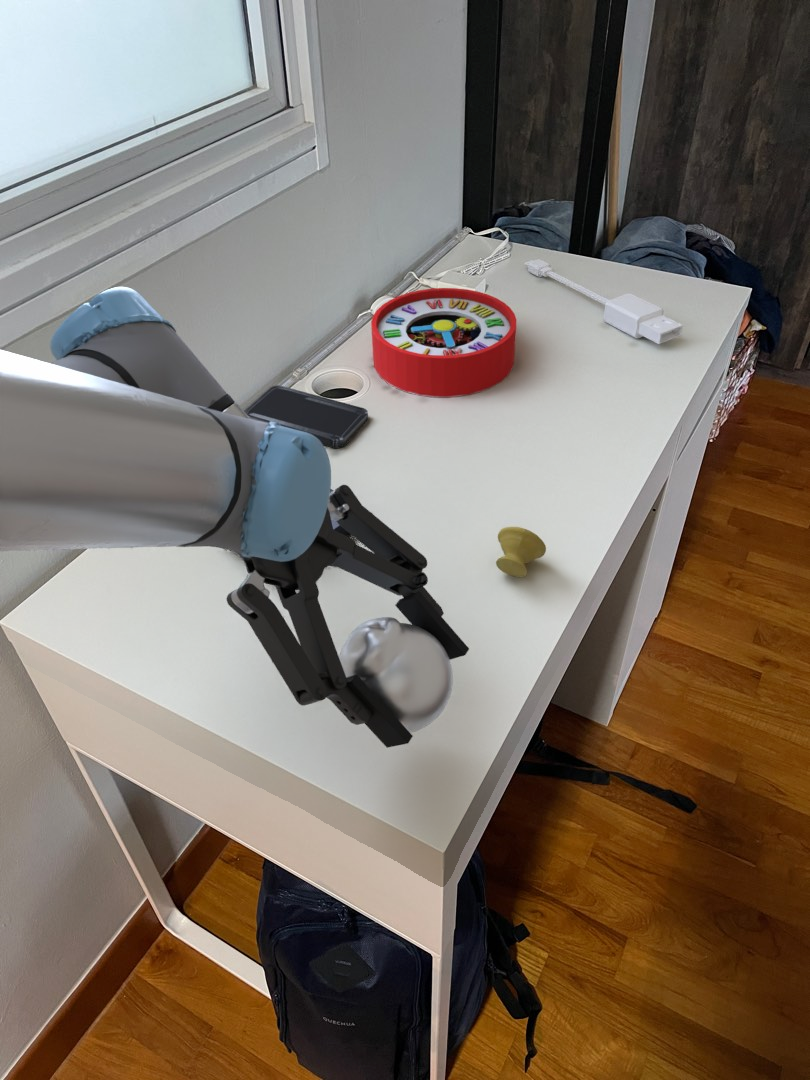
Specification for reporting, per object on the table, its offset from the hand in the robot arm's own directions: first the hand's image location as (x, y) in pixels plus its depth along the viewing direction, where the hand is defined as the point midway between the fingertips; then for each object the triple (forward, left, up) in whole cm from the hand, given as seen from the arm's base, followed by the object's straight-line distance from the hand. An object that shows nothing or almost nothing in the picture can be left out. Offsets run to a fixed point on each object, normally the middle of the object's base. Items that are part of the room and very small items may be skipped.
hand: (429, 696), depth 65 cm
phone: (+25, +45, -7) cm, 52 cm away
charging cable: (+75, +35, -7) cm, 83 cm away
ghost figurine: (-1, +3, -4) cm, 5 cm away
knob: (+22, +8, -7) cm, 24 cm away
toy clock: (+48, +42, -7) cm, 64 cm away
